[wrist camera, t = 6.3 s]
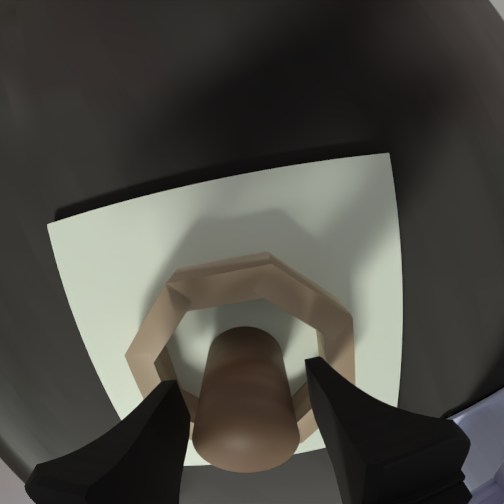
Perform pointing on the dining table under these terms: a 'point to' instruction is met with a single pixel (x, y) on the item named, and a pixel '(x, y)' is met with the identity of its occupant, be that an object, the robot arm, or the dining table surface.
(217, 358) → the walnut dowel
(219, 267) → the ring collar
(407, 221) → the dining table surface
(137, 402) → the sage board
